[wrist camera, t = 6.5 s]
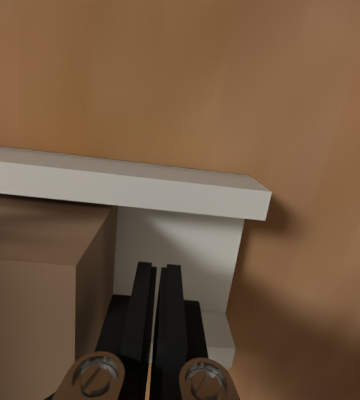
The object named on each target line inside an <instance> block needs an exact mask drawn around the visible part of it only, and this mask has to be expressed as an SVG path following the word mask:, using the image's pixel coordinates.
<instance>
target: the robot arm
mask: <svg viewBox="0 0 360 400" xmlns="http://www.w3.org/2000/svg"><path fill="white" fill-rule="evenodd" d="M156 273H157V267H154V266H152V263H151V262H140V261H138V265H137V269H136V274H135V279H134V283H133V288H132V293H131V296H129V295H116V294H113V295H112V298H111V301H110V304H109V307H108V310H107V314H106V317H105V320H104V323H103V326H102V329H101V332H100V336H99V339H98V342H97V345H96V348H95V351H94V352H92V353H89V354H86V355H84V356H82V357H80V358H79V359H78V360H77V361H75V362H74V363H73V365H72V366H71V367H70V369H69V370H68V372H67V373H66V375H65V377H64V379H63V380H62V382H61V384H60V386H59V387H58V389H57V391H56V392H55V393H53V394H52V395H50V396H49V397H47V398H45V399H44V400H145V392H146V383H147V375H148V366H149V357H150V348H151V337H152V324H153V312H154V299H155V286H156ZM149 400H240V398H239V395H238V393H237V390H236V388H235V385H234V383H233V380H232V378H231V376H230V374H229V373H228V371H227V370H226V369H225V368H224V367H223V366H222V365H221V364H219V363H218V362H216V361H214V360H211V359H209V357H208V351H207V345H206V339H205V333H204V327H203V321H202V315H201V309H200V304H199V301H193V300H184V297H183V285H182V273H181V265H174V264H167V267H166V268H165V267H161V274H160V283H159V291H158V300H157V308H156V317H155V326H154V338H153V353H152V367H151V381H150V396H149Z"/></svg>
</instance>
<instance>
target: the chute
mask: <svg viewBox="0 0 360 400" xmlns="http://www.w3.org/2000/svg"><path fill="white" fill-rule="evenodd" d="M0 193H1V194H11V195H21V196H30V197H40V198H50V199H59V200H69V201H79V202H89V203H98V204H108V205H118V212H117V229H116V246H115V263H114V280H113V294H116V295H129V296H131V293H132V288H133V283H134V279H135V274H136V269H137V265H138V261H140V262H151V263H152V266H154V267H157V273H156V286H155V299H154V312H153V324H152V337H151V348H150V357H149V364H152V353H153V338H154V326H155V317H156V308H157V300H158V291H159V283H160V274H161V267H165V268H166V267H167V264H174V265H181V273H182V285H183V297H184V300H193V301H199V304H200V309H201V315H202V321H203V327H204V333H205V339H206V345H207V351H208V357H209V359H211V360H214V361H216V362H218V363H219V364H221V365H222V366H223V367H224V368H231V367H232V363H233V358H234V354H235V350H236V348H235V345H234V341H233V338H232V334H231V331H230V328H229V324H228V321H227V317H226V314H225V313H226V308H227V303H228V298H229V293H230V288H231V284H232V279H233V274H234V269H235V264H236V259H237V255H238V250H239V245H240V240H241V235H242V230H243V226H244V221H245V219H253V220H263V221H265V220H266V216H267V211H268V207H269V203H270V198H271V194H272V192H271V191H270V190H268V189H267V188H266V187H264V186H263V185H261V184H260V183H259V182H257V181H256V180H255V179H253V178H252V177H250V176H249V175H243V174H234V173H226V172H217V171H209V170H200V169H191V168H183V167H174V166H165V165H157V164H148V163H139V162H131V161H122V160H114V159H105V158H96V157H88V156H79V155H70V154H62V153H53V152H44V151H36V150H27V149H18V148H10V147H1V146H0Z"/></svg>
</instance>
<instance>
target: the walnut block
mask: <svg viewBox="0 0 360 400" xmlns="http://www.w3.org/2000/svg"><path fill="white" fill-rule="evenodd" d="M117 212H118V205H108V204H98V203H89V202H79V201H69V200H59V199H50V198H40V197H30V196H21V195H11V194H1V193H0V400H44V399H45V398H47V397H49V396H50V395H52V394H53V393H55V392H56V391H57V389H58V387H59V386H60V384H61V382H62V380H63V379H64V377H65V375H66V373H67V372H68V370H69V369H70V367H71V366H72V365H73V363H74V362H75V361H77V360H78V359H79V358H80V357H82V356H84V355H86V354H89V353H92V352H94V351H95V348H96V345H97V342H98V339H99V336H100V332H101V329H102V326H103V323H104V320H105V317H106V314H107V310H108V307H109V304H110V301H111V298H112V295H113V280H114V263H115V246H116V229H117Z"/></svg>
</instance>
